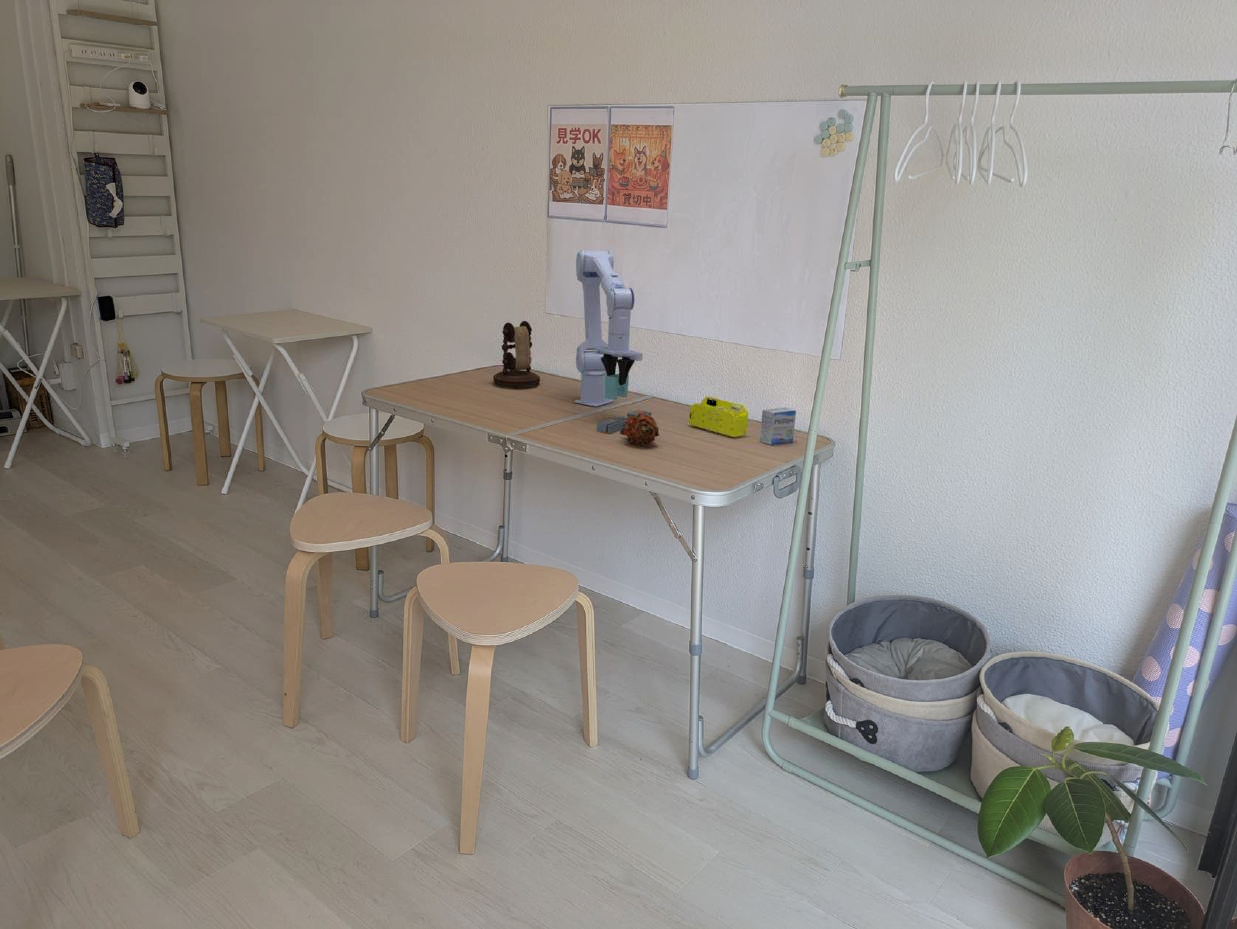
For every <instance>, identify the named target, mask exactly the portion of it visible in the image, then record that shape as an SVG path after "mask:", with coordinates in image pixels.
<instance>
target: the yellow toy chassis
mask: <svg viewBox="0 0 1237 929" xmlns="http://www.w3.org/2000/svg"><path fill="white" fill-rule="evenodd" d="M748 417H749V411H748V410H747V408H746V407H745V406H744V405H743V404H739V403H735V402H732V401H728V400H724V399H719V398H716V397H712V396H709V395H708V396H706V397H704V398H703V399H701V403H697V402H695V403H694V404H692V405H690V406H689V417H688V425H690V426H694V427H698V428H699V429H702V430H703V429H704V430H707V431H712V432H714V433H715V434H716V433H719V434H723V435H725V436H727V437H729V438H731V437H732V438H739V437H742V436H744V435H747V428H748V419H749V418H748Z"/></svg>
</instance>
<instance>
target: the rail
mask: <svg viewBox="0 0 1237 929" xmlns="http://www.w3.org/2000/svg"><path fill="white" fill-rule="evenodd" d="M638 413H644V414H648V415H649V416H650V417H652V411H646V410H643V409H636V410H634V411H631V412H628V413H626V416H624V415H618V416H616V419H612V418H608V419H605V420H601V421H599V422H597V423H596V431H597V432H599V433H603V432H604V433H603V434H608V435H612V434H614V433H616V432H620V429H623V428H625V425H624V426H622V425H623V424H625V422H626V420H627V419H628V418H629V417H632V416H633V417H635V416H636V415H637V414H638Z"/></svg>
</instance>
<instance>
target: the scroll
mask: <svg viewBox="0 0 1237 929" xmlns="http://www.w3.org/2000/svg"><path fill="white" fill-rule="evenodd" d="M532 331H533V329H532V327H531V324H530V323H529V322H528V321H526V320H523V321H521V322H520V324H519V326H514V325H513V323H511V322H506V323H505V324H504V325H503V328H502V335H503V336H502V337H503V340H502V343H503V344H502V345H501V350H502V352H503V355H502V360H501V363H502V367H503V369H502V371H499V372H497V373H495V374H493V378H492V380H493V383H494V384H495V385H497V383H498V384H502V385H508V386H512V387H513V389H514V390H516V389H517V386H528V385H530V386H531V385H536V386H537V385H538V386H539V385H540V382H541V377H540V375H538V374H537V373H535V372H533V371H531V370H532V368H531V364H532V357H531V354H532V352H531V349H532V347H533V342H532V337H531V335H532ZM508 343H510V344H508ZM512 343H513V344H512ZM512 349H515V356H514V355H513V353H512V352H510V351H508V350H512Z"/></svg>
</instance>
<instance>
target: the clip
mask: <svg viewBox="0 0 1237 929" xmlns="http://www.w3.org/2000/svg"><path fill="white" fill-rule="evenodd" d="M629 378H630V375H629V374H628V376H627V380H626V383H625V384H624V385H619V373H615V375H610V376H606V377H605V398H606V399H611V400H614V401H615V400H617V399H618V397H620V398H621V397H622V398H627V397H628V396H629V395H628V391H629V381H630V380H629Z"/></svg>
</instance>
